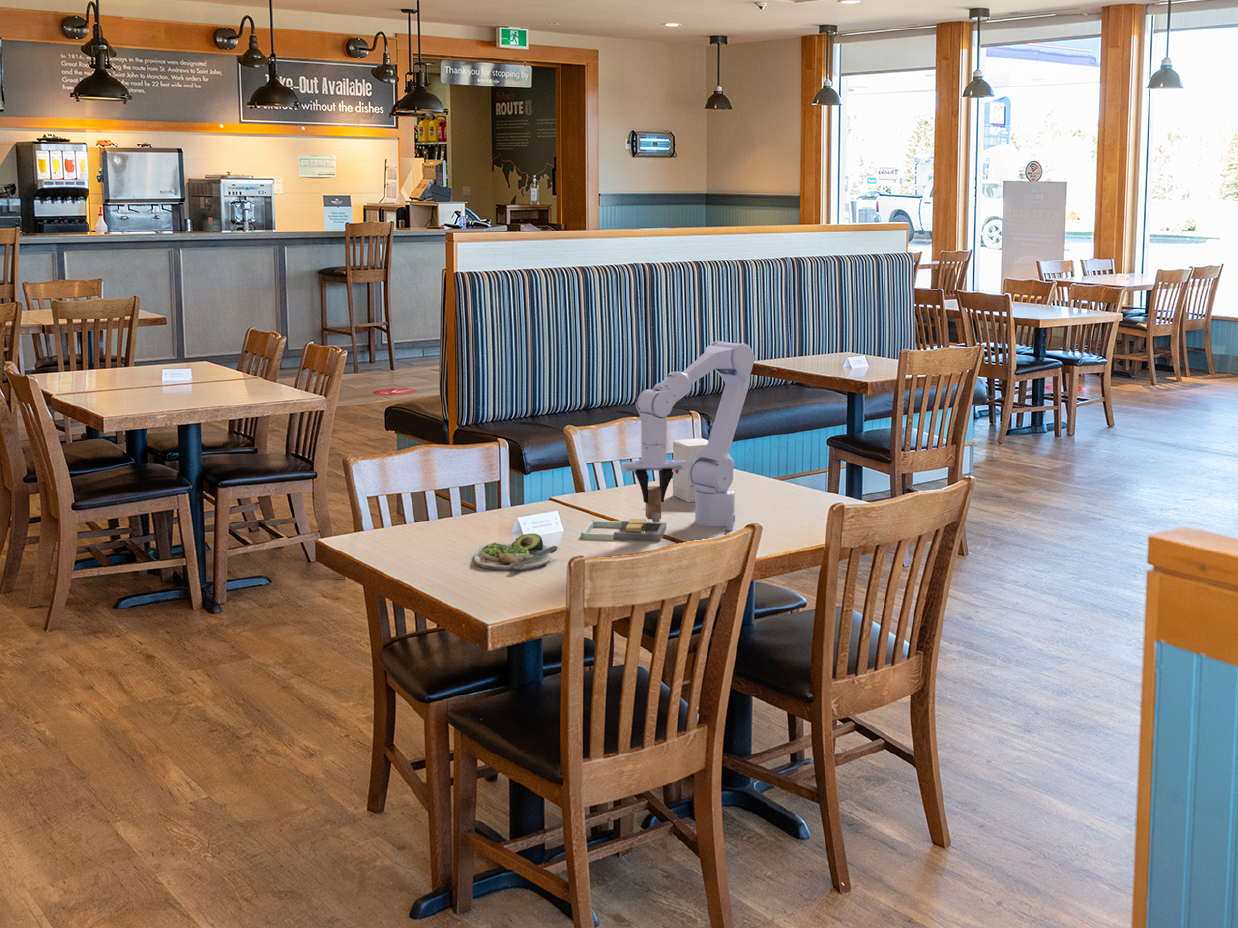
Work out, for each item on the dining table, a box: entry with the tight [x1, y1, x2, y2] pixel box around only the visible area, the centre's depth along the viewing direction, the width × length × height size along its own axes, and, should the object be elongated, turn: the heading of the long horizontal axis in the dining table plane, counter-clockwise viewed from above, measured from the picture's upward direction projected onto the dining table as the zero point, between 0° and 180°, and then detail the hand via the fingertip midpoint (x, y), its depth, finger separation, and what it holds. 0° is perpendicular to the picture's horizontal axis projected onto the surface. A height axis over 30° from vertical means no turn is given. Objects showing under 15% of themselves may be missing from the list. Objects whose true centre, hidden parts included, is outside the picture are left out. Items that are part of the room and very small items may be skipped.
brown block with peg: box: [645, 485, 662, 523], centre depth 280 cm, size 3×8×7 cm, turn 9°
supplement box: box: [672, 437, 718, 503], centre depth 321 cm, size 9×9×15 cm
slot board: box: [613, 520, 667, 542], centre depth 282 cm, size 10×11×2 cm
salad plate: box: [473, 533, 559, 571], centre depth 264 cm, size 19×18×5 cm
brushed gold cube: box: [629, 518, 647, 533], centre depth 284 cm, size 4×4×2 cm
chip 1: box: [626, 524, 643, 533], centre depth 280 cm, size 4×4×2 cm
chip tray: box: [580, 520, 622, 541], centre depth 284 cm, size 8×12×2 cm, turn 170°
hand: (653, 501), depth 280 cm, fingers closed on brown block with peg, 3 cm apart
